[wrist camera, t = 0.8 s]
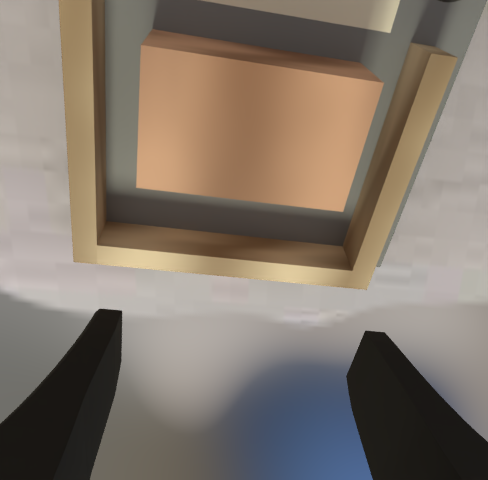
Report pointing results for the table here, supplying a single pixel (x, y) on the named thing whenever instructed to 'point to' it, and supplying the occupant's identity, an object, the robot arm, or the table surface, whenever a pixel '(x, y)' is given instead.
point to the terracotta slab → (251, 121)
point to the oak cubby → (226, 245)
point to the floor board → (276, 37)
